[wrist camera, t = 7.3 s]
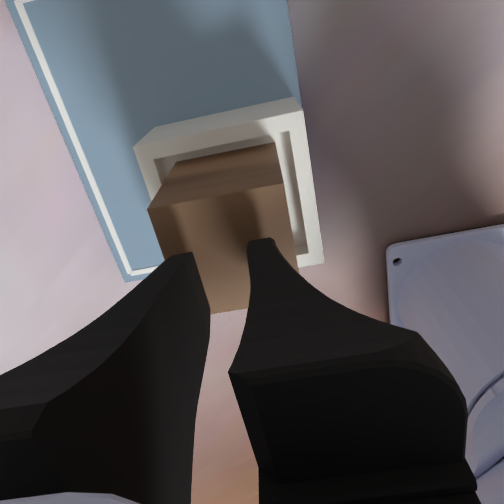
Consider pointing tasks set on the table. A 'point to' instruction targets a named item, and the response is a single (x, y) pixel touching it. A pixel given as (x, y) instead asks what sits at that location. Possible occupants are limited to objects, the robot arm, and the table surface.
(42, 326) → the table surface
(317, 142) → the table surface
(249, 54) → the blueprint board
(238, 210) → the walnut block
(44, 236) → the table surface
